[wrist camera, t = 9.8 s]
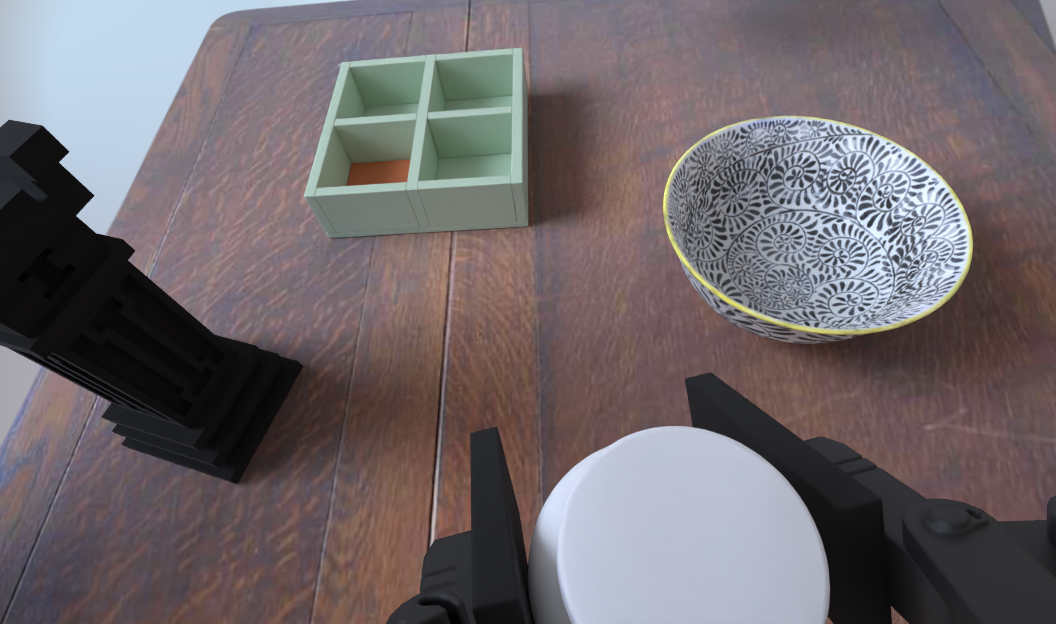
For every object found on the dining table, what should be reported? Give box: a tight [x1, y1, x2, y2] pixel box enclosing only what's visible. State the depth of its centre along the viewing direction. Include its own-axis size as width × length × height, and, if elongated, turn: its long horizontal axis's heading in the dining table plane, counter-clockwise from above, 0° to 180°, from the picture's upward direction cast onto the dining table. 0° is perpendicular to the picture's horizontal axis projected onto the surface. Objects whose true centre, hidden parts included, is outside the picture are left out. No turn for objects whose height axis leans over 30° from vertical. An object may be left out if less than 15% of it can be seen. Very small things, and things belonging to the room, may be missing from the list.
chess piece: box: [0, 120, 303, 484], centre depth 27 cm, size 8×8×20 cm
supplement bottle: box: [527, 426, 830, 624], centre depth 12 cm, size 5×5×10 cm
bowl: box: [663, 116, 973, 344], centre depth 33 cm, size 16×16×8 cm
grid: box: [304, 48, 528, 238], centre depth 44 cm, size 15×15×5 cm
